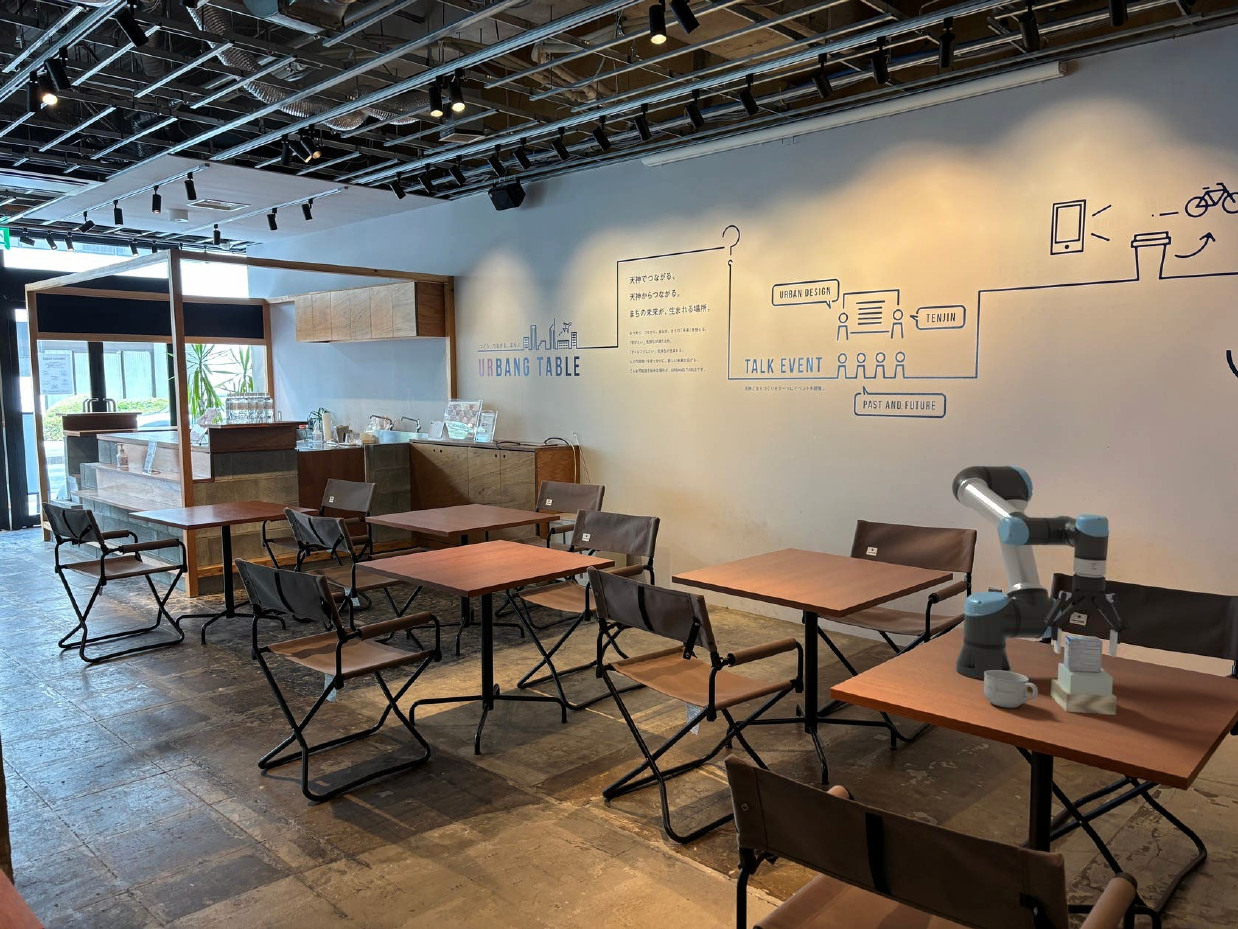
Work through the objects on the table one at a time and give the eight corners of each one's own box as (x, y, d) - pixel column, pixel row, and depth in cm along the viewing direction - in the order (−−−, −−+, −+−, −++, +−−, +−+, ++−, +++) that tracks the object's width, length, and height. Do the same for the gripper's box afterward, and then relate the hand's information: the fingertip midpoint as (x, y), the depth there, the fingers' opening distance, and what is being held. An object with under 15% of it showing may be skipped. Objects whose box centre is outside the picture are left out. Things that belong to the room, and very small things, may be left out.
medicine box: (1094, 668, 231) (1096, 636, 230) (1101, 673, 227) (1103, 640, 226) (1063, 666, 232) (1064, 634, 232) (1068, 671, 228) (1070, 639, 227)
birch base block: (1065, 713, 226) (1066, 694, 225) (1050, 697, 237) (1051, 679, 237) (1115, 716, 224) (1116, 697, 223) (1097, 700, 236) (1098, 682, 235)
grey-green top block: (1069, 693, 226) (1071, 674, 225) (1057, 681, 235) (1058, 663, 235) (1111, 696, 224) (1112, 677, 224) (1097, 683, 234) (1098, 665, 233)
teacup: (973, 700, 233) (975, 670, 233) (1003, 695, 237) (1005, 666, 237) (1015, 718, 220) (1017, 687, 220) (1046, 712, 225) (1048, 682, 224)
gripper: (1043, 575, 225) (1038, 655, 227) (1147, 579, 221) (1142, 661, 223) (1034, 569, 233) (1029, 647, 234) (1134, 573, 229) (1129, 652, 230)
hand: (1084, 654), depth 229 cm, fingers open, 13 cm apart
